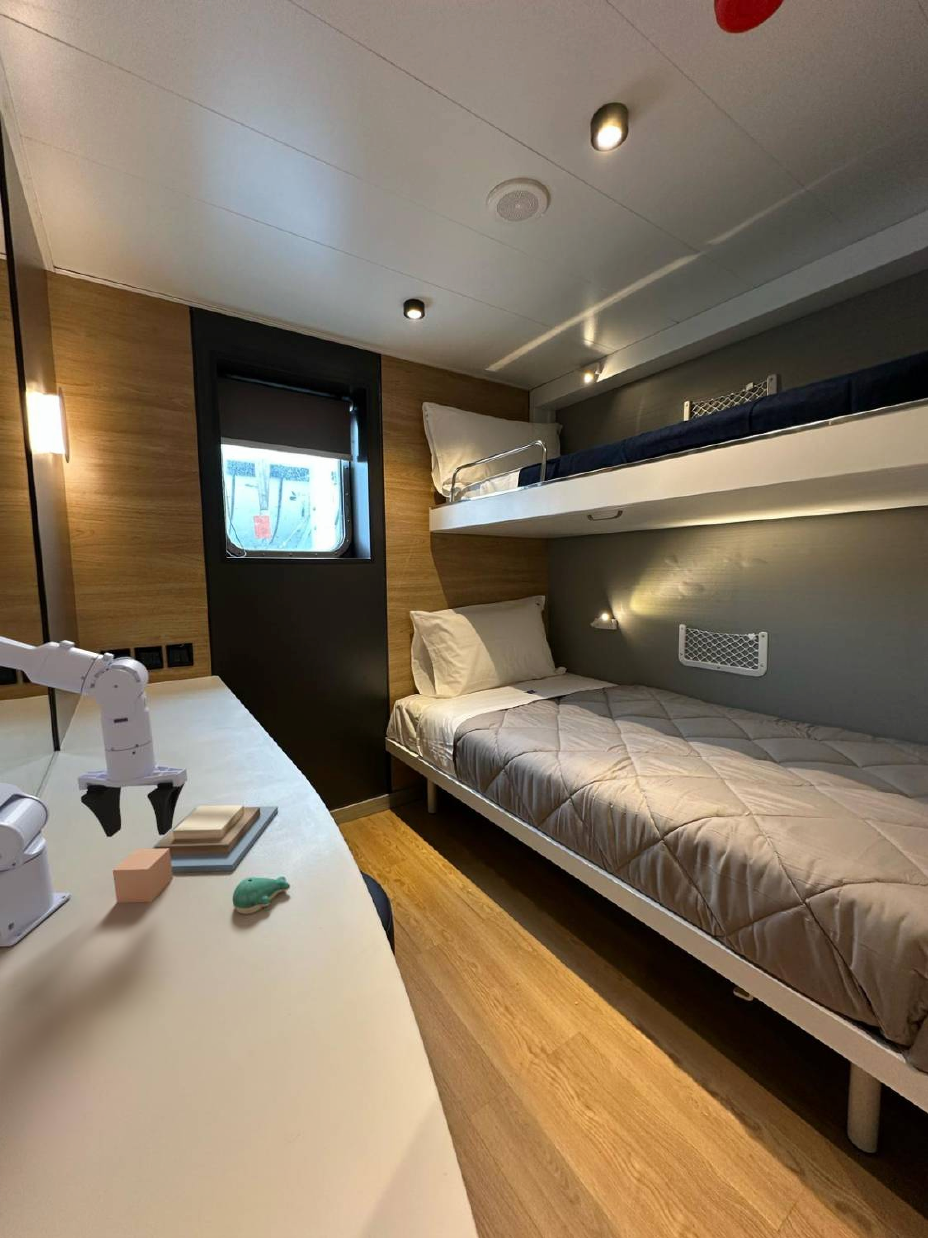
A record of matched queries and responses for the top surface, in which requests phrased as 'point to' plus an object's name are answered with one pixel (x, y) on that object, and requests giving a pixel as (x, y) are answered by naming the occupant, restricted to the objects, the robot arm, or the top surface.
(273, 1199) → the top surface
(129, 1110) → the top surface
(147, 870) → the terracotta block
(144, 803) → the top surface
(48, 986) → the top surface
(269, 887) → the whale figurine
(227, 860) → the plinth board
